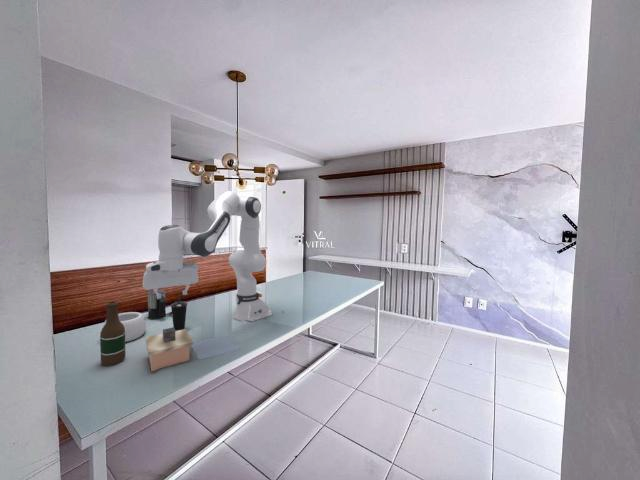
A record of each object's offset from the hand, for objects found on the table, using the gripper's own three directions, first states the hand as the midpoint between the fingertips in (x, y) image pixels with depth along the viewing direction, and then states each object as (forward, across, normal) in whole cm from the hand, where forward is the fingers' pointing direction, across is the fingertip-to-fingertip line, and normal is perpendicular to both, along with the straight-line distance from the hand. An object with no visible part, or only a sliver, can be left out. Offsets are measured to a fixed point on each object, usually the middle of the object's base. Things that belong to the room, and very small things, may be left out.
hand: (172, 296), depth 107 cm
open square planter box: (+25, +2, +4) cm, 25 cm away
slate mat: (+25, -16, +4) cm, 30 cm away
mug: (+25, +17, -27) cm, 41 cm away
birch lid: (+18, +2, +4) cm, 18 cm away
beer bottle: (+25, +20, -6) cm, 33 cm away
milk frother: (+26, -3, -50) cm, 57 cm away
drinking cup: (+26, -6, -24) cm, 35 cm away
